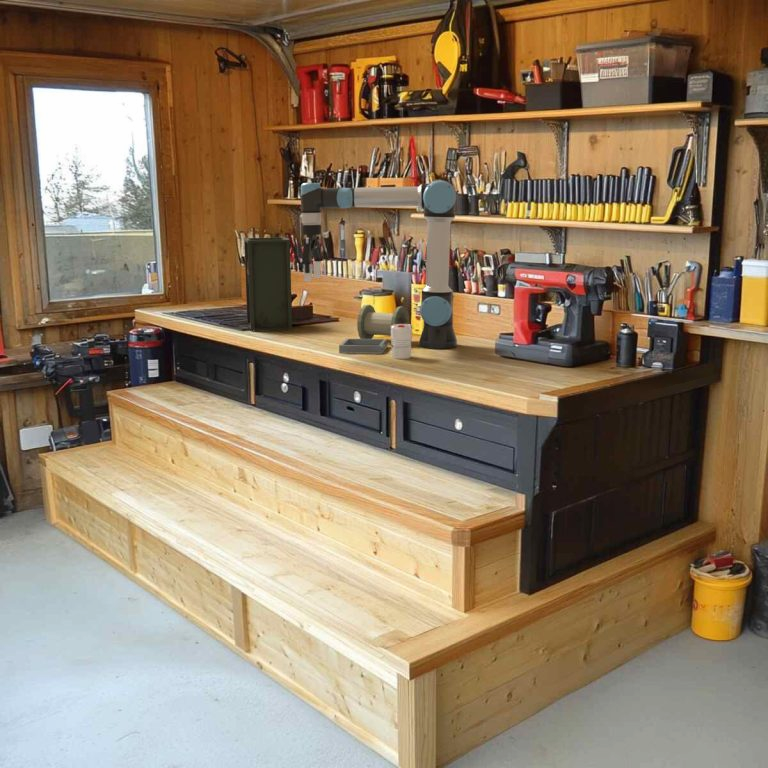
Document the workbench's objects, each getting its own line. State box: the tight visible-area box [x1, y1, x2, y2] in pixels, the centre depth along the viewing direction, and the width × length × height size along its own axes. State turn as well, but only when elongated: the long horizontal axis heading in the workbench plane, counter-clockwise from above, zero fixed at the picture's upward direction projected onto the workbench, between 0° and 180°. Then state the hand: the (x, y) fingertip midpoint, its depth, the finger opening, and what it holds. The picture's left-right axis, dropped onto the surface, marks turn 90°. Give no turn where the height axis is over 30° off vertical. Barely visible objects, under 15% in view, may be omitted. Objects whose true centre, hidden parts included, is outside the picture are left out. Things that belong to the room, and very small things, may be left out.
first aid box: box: [243, 237, 293, 331], centre depth 411 cm, size 18×18×40 cm
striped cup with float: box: [390, 323, 413, 360], centre depth 340 cm, size 10×8×12 cm
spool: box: [356, 304, 410, 339], centre depth 374 cm, size 16×15×15 cm
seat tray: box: [338, 338, 388, 355], centre depth 357 cm, size 16×16×3 cm
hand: (312, 279), depth 352 cm, fingers open, 13 cm apart
